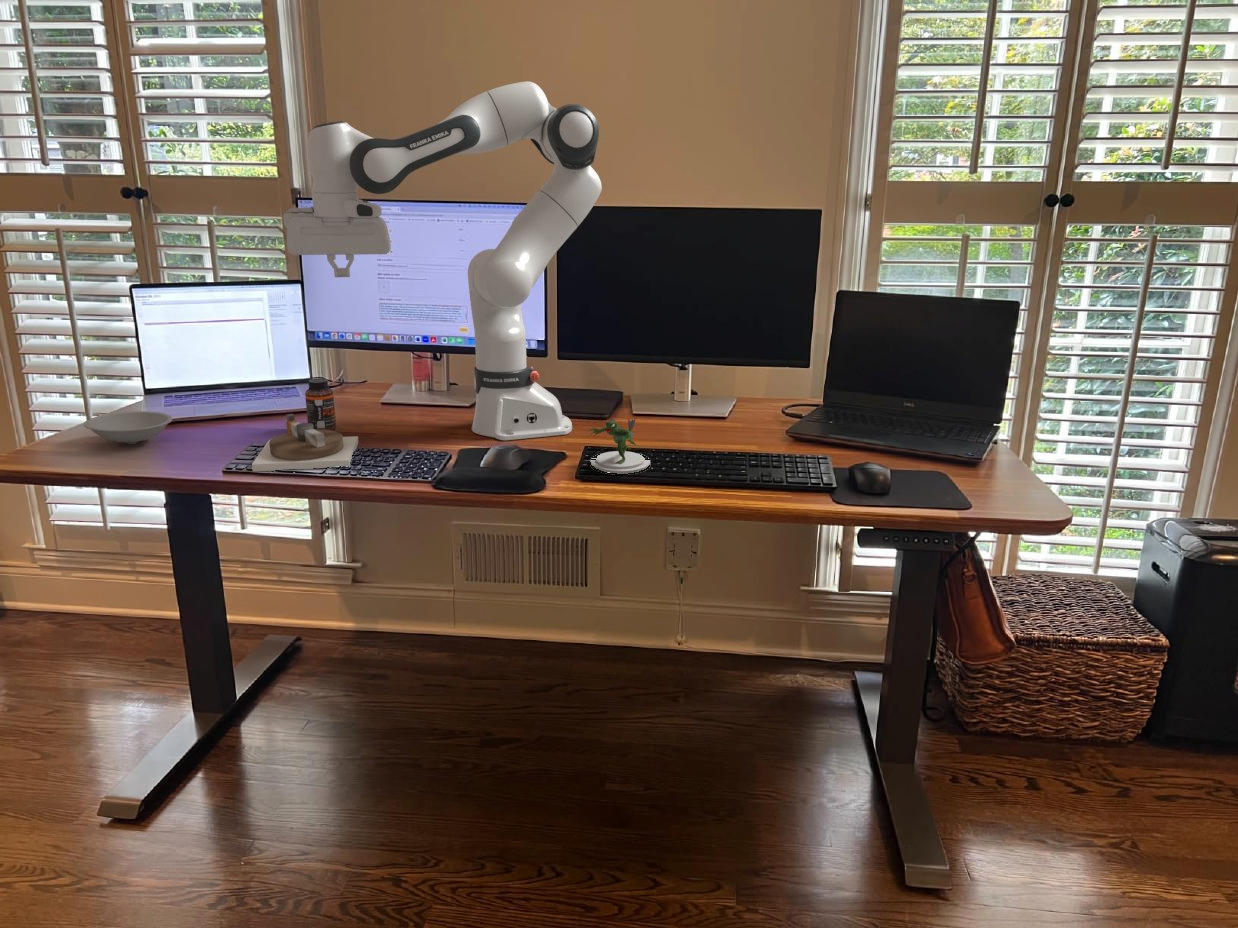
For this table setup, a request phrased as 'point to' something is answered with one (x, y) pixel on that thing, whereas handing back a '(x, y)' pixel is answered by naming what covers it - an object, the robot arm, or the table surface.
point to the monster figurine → (619, 451)
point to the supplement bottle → (320, 405)
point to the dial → (305, 442)
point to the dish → (128, 425)
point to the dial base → (271, 463)
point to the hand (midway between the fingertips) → (342, 277)
